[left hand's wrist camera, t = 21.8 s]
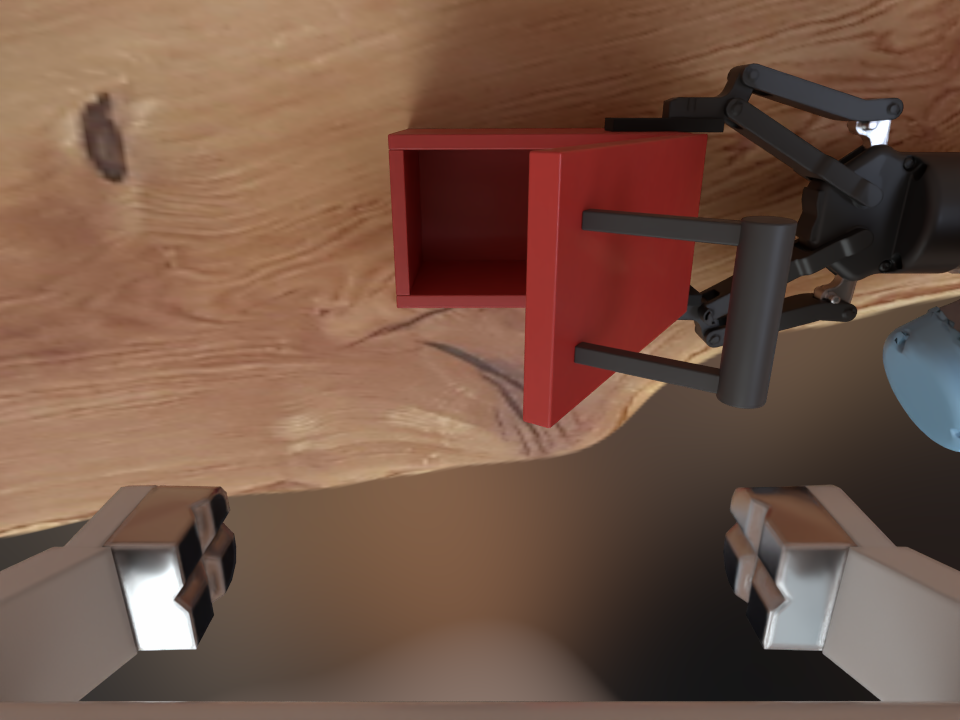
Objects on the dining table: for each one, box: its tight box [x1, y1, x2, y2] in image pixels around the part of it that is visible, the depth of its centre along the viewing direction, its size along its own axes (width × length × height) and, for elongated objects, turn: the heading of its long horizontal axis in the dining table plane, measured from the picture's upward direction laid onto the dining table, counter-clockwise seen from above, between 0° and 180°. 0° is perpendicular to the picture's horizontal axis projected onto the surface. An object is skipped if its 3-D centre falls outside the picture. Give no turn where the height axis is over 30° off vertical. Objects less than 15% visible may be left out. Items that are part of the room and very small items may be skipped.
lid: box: [523, 134, 797, 428], centre depth 28 cm, size 18×10×8 cm
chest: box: [388, 128, 692, 308], centre depth 42 cm, size 17×10×10 cm, turn 90°
